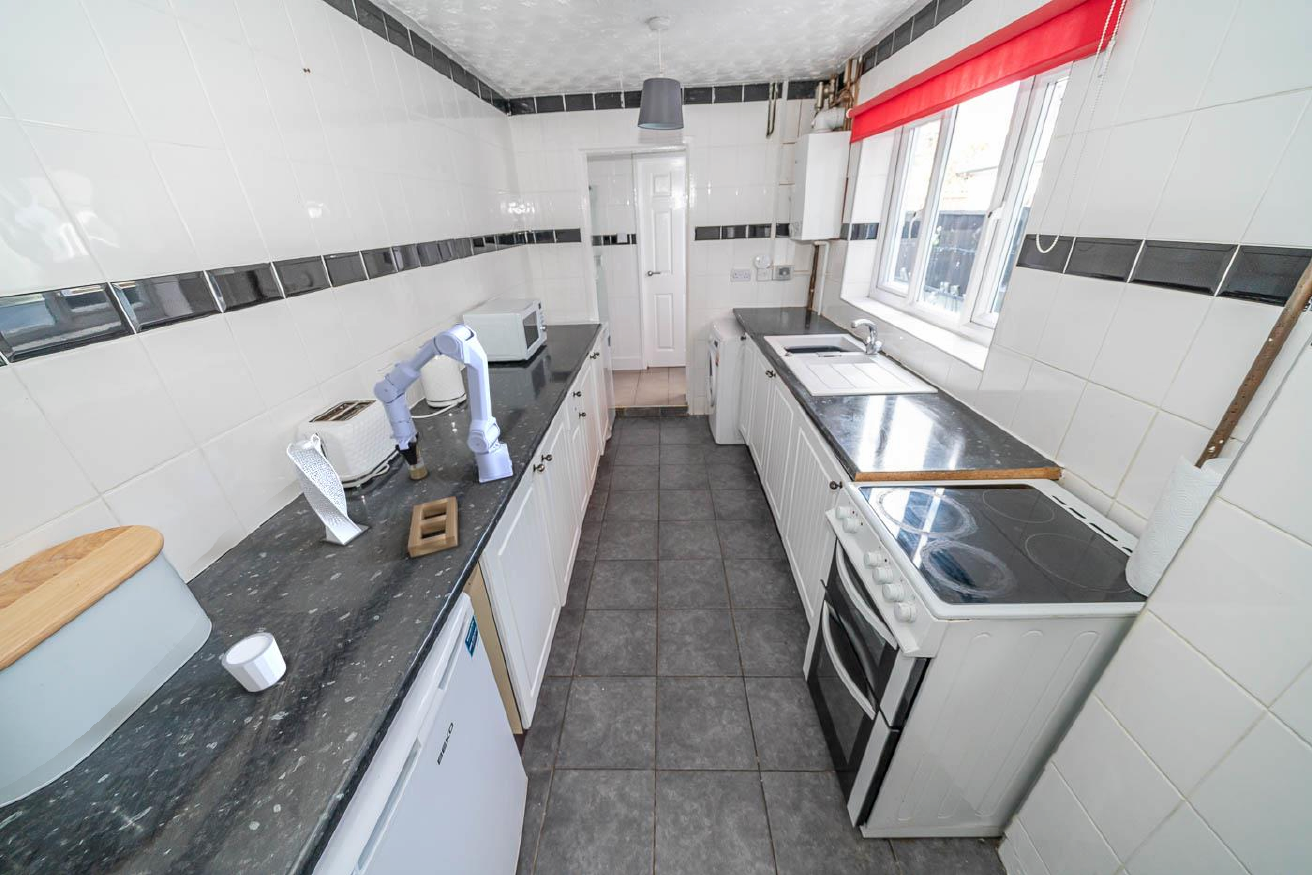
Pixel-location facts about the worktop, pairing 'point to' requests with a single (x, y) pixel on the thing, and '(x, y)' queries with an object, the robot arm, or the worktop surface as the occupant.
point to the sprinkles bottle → (419, 468)
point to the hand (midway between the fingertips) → (414, 460)
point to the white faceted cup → (255, 661)
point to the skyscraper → (323, 490)
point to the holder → (433, 527)
